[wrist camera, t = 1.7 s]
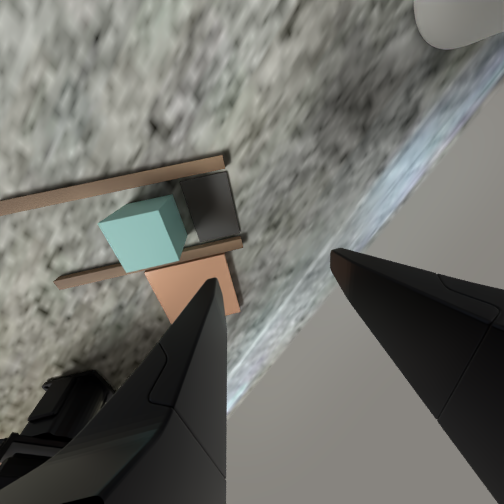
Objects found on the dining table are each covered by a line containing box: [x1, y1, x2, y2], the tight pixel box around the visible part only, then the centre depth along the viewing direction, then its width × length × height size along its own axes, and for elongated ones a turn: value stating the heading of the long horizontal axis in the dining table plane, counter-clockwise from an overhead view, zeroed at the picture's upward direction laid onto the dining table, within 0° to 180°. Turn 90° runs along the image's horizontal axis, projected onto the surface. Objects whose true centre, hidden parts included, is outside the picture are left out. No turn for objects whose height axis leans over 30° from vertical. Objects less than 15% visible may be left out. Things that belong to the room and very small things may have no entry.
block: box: [98, 194, 187, 273], centre depth 17 cm, size 4×4×5 cm
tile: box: [144, 252, 240, 324], centre depth 23 cm, size 8×8×1 cm
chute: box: [0, 155, 243, 290], centre depth 18 cm, size 8×18×1 cm, turn 100°
